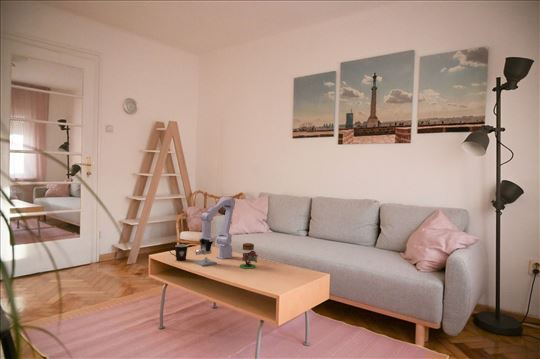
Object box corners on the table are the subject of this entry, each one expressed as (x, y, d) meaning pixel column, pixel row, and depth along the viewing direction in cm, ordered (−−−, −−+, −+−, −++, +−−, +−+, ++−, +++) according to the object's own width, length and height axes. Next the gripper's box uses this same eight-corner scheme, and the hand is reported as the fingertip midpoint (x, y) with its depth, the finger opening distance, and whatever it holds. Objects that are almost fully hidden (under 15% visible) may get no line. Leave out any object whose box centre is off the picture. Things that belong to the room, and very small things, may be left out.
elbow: (207, 251, 247) (207, 243, 247) (211, 253, 243) (211, 244, 242) (194, 254, 241) (194, 245, 241) (198, 255, 237) (198, 246, 236)
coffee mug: (189, 258, 254) (189, 244, 254) (184, 261, 246) (185, 247, 245) (173, 257, 255) (173, 243, 255) (168, 260, 247) (168, 246, 246)
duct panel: (208, 260, 251) (208, 254, 251) (217, 264, 242) (217, 258, 242) (194, 262, 244) (194, 256, 244) (202, 266, 235) (202, 260, 235)
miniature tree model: (255, 269, 232) (256, 246, 231) (236, 268, 234) (237, 245, 234) (259, 265, 243) (260, 243, 243) (241, 263, 246) (242, 241, 245)
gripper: (196, 229, 246) (195, 249, 246) (206, 232, 235) (205, 253, 235) (205, 228, 250) (204, 247, 251) (215, 231, 239) (215, 252, 239)
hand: (205, 250), depth 243 cm, fingers closed on elbow, 5 cm apart
